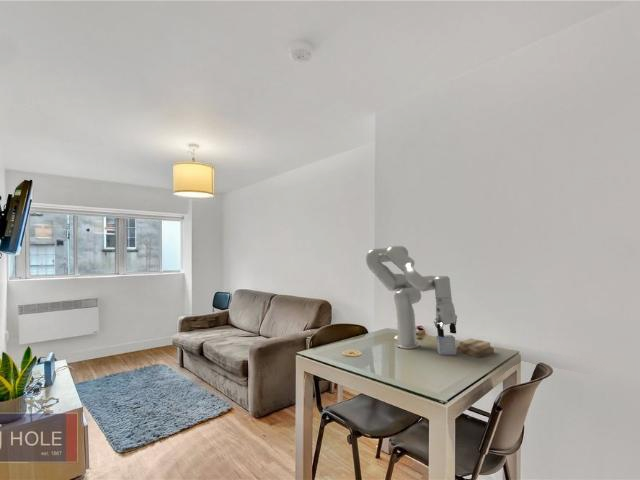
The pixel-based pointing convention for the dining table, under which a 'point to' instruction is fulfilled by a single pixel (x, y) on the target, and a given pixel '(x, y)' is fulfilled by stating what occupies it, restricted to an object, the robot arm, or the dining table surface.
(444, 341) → the medicine box
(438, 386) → the dining table surface
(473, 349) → the brown rock slab
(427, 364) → the dining table surface
